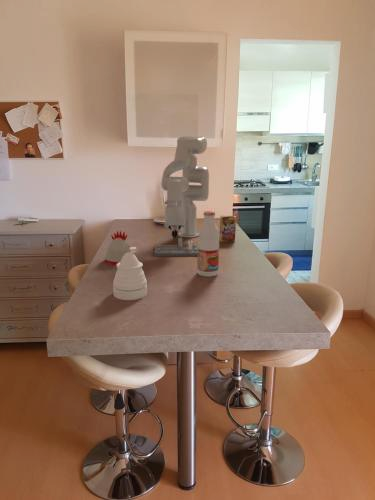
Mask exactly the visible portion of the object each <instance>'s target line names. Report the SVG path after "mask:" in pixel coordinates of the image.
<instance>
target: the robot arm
mask: <svg viewBox="0 0 375 500" xmlns="http://www.w3.org/2000/svg"><path fill="white" fill-rule="evenodd" d="M207 146H208V142H207V138H206V137H205V136H180V137H178V138H177V139H176V149H175V154H174V159H173V160H172V161H171V162H170V163H169V164H167V166H166V167H165V168H164V169H163V173H162V177H161V181H160V182H161V183H160V184H161V188H162V190H164V191H165V192H166V201H164V205H166V206H165V211H164V227H165V228H167V229H170V230H171V237H173V238H172V239H177V237H181V238H186V239H188V238H197V237H199V234H198V232H197V212H198V211H197V209H198V208H197V205H196V203H194V202H206V201H207V200H208V199H209V193H210V187H209V186H210V185H209V182H210V173H209V169H208V167H206V166H198V158H197V156H196V155H202V154H203V153H204V152H205V151H206V150H207V148H208V147H207ZM178 171H182V176H171V175H172V174H174V173H176V172H178ZM190 183H195V184H190ZM197 183H198V184H197ZM174 227H175V229H174ZM179 230H180V232H179Z"/></svg>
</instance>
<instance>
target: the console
mask: <svg viewBox="0 0 375 500" xmlns="http://www.w3.org/2000/svg"><path fill="white" fill-rule="evenodd" d="M194 256H195V257H198V244H195V243H194V244H193V245H192V250H188V244H182V247H179V246H178V244H159V243H158V244H155V245H154V257H194Z"/></svg>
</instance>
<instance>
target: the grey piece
mask: <svg viewBox="0 0 375 500" xmlns="http://www.w3.org/2000/svg"><path fill="white" fill-rule="evenodd" d="M125 233H126V232H125V231H123V232H122V231H121V230H120V231H118V230H117V231H116V233H115V232H114V233H113V235H114V236H113V235H110V237H111V239H112V241H110V243H109V245H108V246H107V249H106V252H105V263H106V264H109V265H111V264H112V265H113V266H116V265H117V264H118V263H119V262H120V261H121V259H122V258H123V256H124V255H125V254H126V253H127V252H131V251H130V247H132V246H131V244H130V243H129V242H128V241H127V237H128V233H127V234H125Z"/></svg>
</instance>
